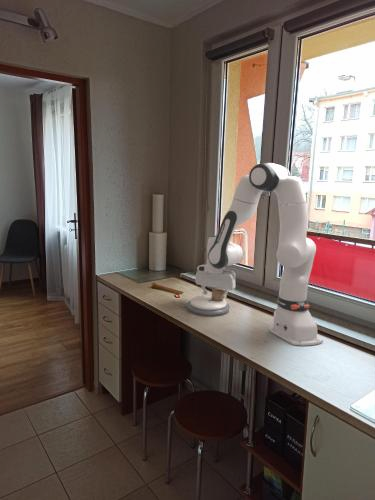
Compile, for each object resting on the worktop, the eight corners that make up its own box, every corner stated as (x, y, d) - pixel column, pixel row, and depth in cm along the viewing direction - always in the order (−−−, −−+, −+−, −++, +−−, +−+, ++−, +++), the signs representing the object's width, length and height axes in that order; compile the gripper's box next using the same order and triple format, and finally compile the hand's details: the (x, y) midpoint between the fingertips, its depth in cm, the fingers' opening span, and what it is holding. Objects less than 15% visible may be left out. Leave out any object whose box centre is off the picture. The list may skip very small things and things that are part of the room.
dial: (233, 306, 175) (234, 293, 173) (205, 312, 165) (206, 299, 164) (211, 296, 188) (211, 284, 187) (183, 301, 178) (184, 289, 177)
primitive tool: (184, 293, 201) (184, 286, 200) (179, 295, 196) (179, 289, 196) (153, 287, 209) (154, 281, 208) (148, 290, 204) (148, 283, 204)
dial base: (235, 314, 170) (236, 310, 170) (194, 317, 165) (194, 312, 164) (220, 300, 189) (220, 296, 189) (182, 303, 184) (182, 298, 183)
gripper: (238, 269, 175) (237, 297, 177) (200, 264, 185) (199, 291, 187) (233, 272, 170) (231, 301, 172) (194, 266, 180) (193, 294, 182)
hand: (214, 295), depth 180 cm, fingers open, 8 cm apart
